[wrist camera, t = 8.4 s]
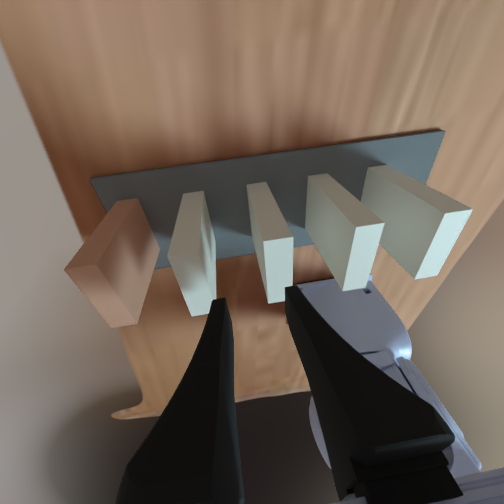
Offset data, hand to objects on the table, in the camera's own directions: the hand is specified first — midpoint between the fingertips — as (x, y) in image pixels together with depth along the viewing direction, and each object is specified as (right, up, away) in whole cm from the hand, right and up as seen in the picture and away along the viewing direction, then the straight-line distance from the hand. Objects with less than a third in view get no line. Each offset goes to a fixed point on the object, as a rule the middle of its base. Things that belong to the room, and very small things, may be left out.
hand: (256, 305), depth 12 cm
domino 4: (+10, +8, +8) cm, 15 cm away
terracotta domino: (-10, +5, +7) cm, 13 cm away
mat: (+2, +7, +8) cm, 11 cm away
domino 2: (0, +6, +8) cm, 10 cm away
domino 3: (+5, +7, +8) cm, 12 cm away
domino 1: (-5, +6, +8) cm, 10 cm away
